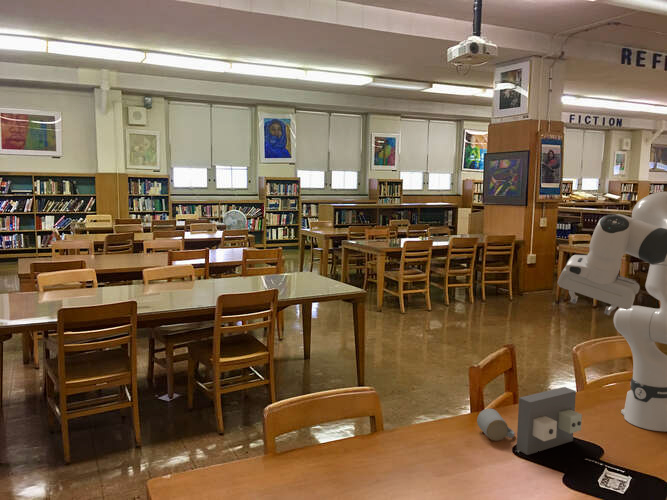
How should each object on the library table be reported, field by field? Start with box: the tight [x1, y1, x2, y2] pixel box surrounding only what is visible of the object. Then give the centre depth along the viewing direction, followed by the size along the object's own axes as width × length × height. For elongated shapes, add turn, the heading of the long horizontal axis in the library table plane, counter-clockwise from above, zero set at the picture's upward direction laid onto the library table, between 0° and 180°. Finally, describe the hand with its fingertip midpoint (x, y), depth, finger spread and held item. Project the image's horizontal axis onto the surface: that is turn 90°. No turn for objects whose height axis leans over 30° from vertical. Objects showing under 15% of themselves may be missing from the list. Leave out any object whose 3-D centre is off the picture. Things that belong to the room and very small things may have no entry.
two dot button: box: [558, 409, 583, 434], centre depth 157 cm, size 5×5×5 cm
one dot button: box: [532, 416, 557, 441], centre depth 152 cm, size 5×5×5 cm
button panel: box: [516, 386, 577, 456], centre depth 158 cm, size 20×4×16 cm, turn 118°
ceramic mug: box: [476, 408, 516, 442], centre depth 164 cm, size 11×8×8 cm
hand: (590, 307), depth 154 cm, fingers open, 8 cm apart
